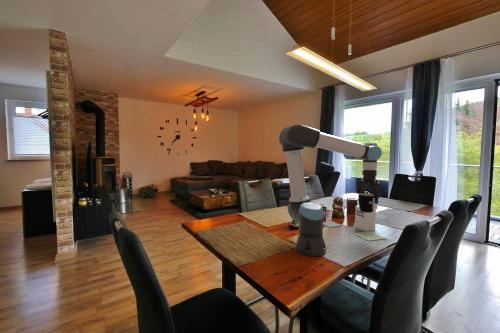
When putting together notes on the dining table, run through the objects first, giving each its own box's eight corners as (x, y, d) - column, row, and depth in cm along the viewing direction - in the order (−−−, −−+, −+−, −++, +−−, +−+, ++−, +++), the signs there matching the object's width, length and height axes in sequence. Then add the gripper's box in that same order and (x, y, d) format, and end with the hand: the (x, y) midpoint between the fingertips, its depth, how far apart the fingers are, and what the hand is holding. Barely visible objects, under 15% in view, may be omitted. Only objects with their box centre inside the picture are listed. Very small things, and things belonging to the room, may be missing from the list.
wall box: (364, 231, 150) (365, 209, 149) (354, 226, 158) (355, 206, 157) (375, 229, 152) (376, 208, 151) (365, 225, 161) (365, 205, 160)
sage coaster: (368, 241, 133) (368, 240, 133) (353, 234, 144) (353, 233, 144) (385, 238, 136) (385, 238, 136) (369, 232, 148) (369, 231, 148)
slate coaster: (328, 227, 157) (328, 226, 157) (320, 223, 166) (320, 222, 166) (341, 226, 160) (341, 225, 159) (332, 221, 169) (332, 221, 169)
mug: (368, 214, 133) (369, 196, 133) (354, 210, 141) (355, 194, 141) (381, 211, 139) (381, 194, 139) (367, 208, 147) (367, 192, 147)
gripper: (390, 170, 129) (388, 211, 131) (360, 167, 150) (359, 202, 151) (379, 170, 127) (378, 212, 129) (351, 168, 148) (350, 203, 149)
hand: (368, 207), depth 140 cm, fingers closed on mug, 9 cm apart
